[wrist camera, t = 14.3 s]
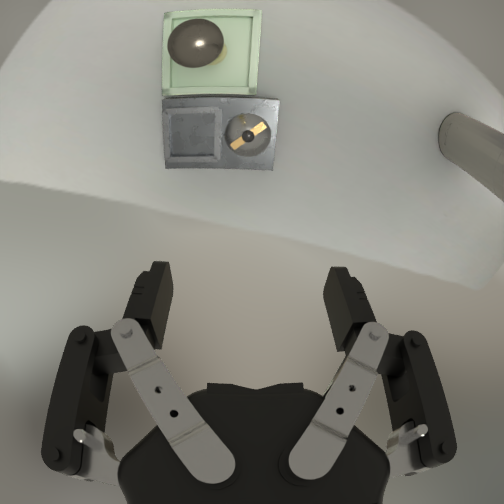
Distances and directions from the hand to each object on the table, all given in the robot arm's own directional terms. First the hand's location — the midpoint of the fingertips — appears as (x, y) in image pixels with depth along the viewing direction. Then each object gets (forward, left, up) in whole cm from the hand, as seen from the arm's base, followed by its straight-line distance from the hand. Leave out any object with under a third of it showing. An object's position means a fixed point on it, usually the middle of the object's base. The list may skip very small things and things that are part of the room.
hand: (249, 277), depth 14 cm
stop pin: (+5, -12, -28) cm, 30 cm away
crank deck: (+4, 0, -28) cm, 28 cm away
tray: (+5, -12, -28) cm, 31 cm away
